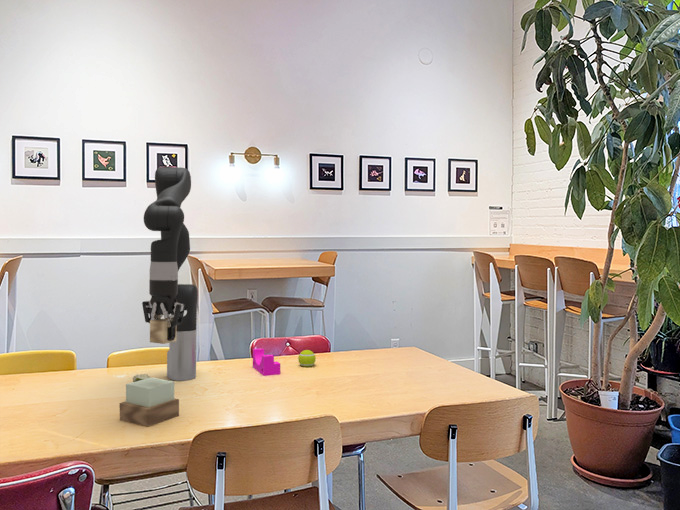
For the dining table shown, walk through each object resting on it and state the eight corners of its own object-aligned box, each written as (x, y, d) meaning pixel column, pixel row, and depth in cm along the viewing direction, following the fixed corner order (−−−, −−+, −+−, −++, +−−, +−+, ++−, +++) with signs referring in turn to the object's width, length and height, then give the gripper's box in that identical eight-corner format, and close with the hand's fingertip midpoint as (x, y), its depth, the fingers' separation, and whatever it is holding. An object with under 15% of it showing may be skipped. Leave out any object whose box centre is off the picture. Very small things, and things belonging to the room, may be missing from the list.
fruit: (142, 406, 172) (140, 381, 170) (122, 400, 176) (120, 375, 175) (166, 395, 179) (164, 371, 178) (146, 390, 184) (144, 366, 183)
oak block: (149, 342, 158) (149, 320, 158) (162, 339, 163) (163, 318, 162) (163, 343, 156) (163, 321, 156) (176, 341, 160) (176, 319, 160)
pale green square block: (125, 402, 157) (125, 384, 157) (151, 394, 165) (151, 377, 165) (149, 407, 153) (149, 388, 153) (174, 399, 161) (174, 381, 160)
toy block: (280, 375, 209) (280, 355, 209) (263, 377, 207) (263, 356, 206) (268, 367, 223) (268, 347, 223) (252, 368, 220) (252, 348, 220)
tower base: (119, 421, 157) (119, 403, 156) (150, 410, 166) (150, 393, 166) (148, 428, 151) (148, 409, 151) (178, 416, 161) (178, 399, 161)
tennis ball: (314, 369, 219) (315, 352, 219) (297, 369, 220) (297, 351, 219) (315, 365, 226) (316, 348, 226) (298, 365, 226) (299, 348, 226)
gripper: (134, 277, 159) (133, 339, 159) (174, 280, 152) (173, 344, 153) (154, 276, 165) (153, 335, 166) (193, 278, 159) (192, 339, 159)
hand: (163, 339), depth 159 cm, fingers closed on oak block, 5 cm apart
